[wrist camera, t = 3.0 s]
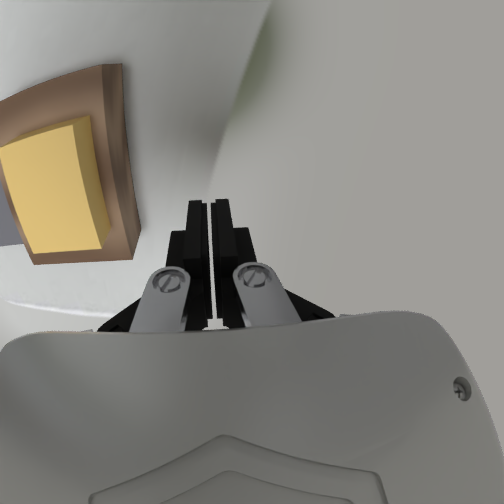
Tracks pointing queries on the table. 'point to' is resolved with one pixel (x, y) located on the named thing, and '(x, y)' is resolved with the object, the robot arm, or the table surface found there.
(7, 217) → the charcoal mat
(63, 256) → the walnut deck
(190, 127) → the table surface
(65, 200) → the ochre tile
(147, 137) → the table surface
